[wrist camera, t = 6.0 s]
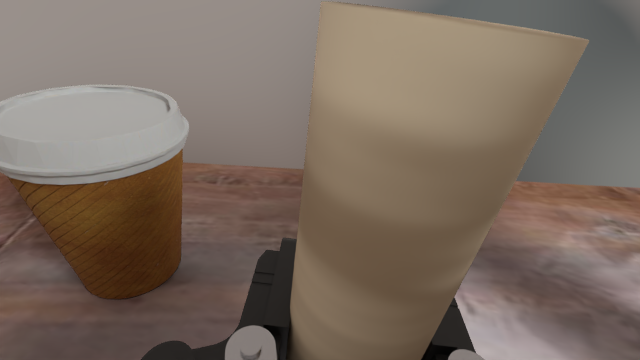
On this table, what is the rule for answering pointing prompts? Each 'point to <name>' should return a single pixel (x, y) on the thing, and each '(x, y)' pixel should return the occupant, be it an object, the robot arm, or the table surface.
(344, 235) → the dowel
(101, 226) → the disposable coffee cup
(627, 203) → the table surface
